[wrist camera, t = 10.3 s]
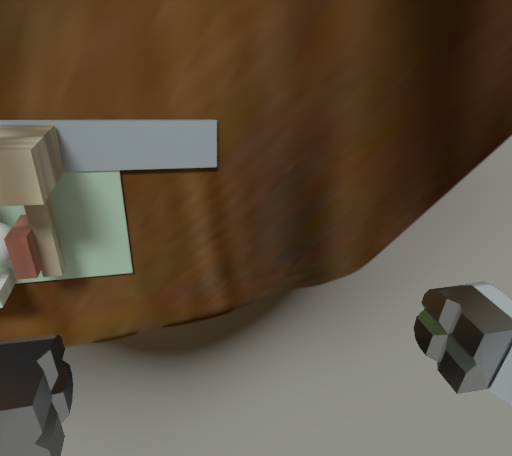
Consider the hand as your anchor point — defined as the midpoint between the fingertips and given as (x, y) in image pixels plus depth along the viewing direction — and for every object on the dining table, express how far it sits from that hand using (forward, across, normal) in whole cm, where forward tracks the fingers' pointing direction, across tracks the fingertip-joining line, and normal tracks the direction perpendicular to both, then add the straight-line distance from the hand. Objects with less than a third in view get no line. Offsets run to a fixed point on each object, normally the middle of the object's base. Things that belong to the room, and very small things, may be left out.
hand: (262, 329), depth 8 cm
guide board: (+29, +6, +4) cm, 30 cm away
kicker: (+28, +13, +9) cm, 32 cm away
